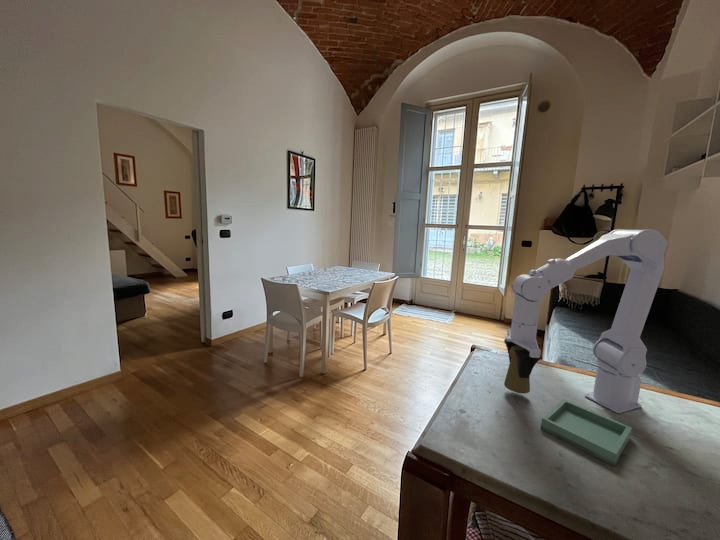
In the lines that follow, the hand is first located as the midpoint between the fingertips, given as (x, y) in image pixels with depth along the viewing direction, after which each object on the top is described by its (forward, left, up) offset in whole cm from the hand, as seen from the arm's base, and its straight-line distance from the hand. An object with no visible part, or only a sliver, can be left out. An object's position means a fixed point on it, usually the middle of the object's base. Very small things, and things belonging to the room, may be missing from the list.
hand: (519, 371), depth 77 cm
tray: (-2, +16, -7) cm, 17 cm away
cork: (0, 0, -4) cm, 4 cm away
